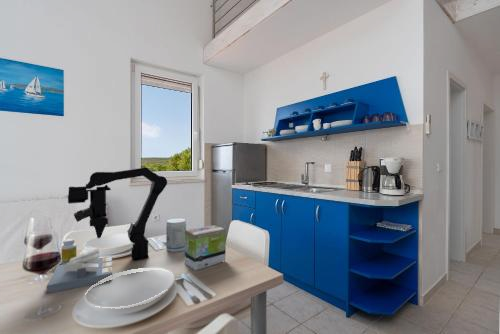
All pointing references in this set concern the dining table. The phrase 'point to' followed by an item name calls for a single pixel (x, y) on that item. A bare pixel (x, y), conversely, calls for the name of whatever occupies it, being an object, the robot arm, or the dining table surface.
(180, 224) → the supplement tub
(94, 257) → the rocker
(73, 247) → the supplement bottle
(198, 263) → the tea box
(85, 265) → the rocker
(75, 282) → the switch panel
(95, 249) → the rocker
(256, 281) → the dining table surface
